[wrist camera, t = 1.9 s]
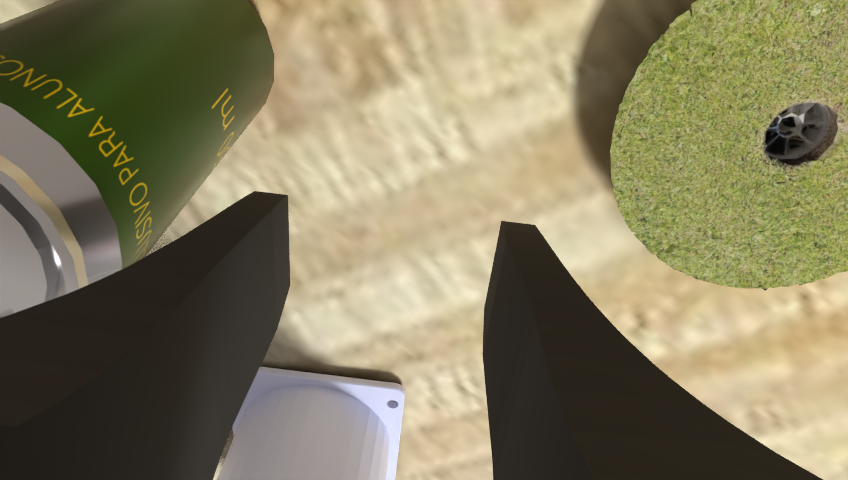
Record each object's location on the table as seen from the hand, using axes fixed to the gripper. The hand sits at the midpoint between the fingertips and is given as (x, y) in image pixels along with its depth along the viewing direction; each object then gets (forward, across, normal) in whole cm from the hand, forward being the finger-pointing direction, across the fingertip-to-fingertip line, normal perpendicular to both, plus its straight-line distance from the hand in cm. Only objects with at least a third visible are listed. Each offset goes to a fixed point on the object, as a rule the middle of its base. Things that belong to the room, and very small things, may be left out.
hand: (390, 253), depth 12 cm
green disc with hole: (+11, -12, 0) cm, 16 cm away
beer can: (+11, +8, 0) cm, 13 cm away
